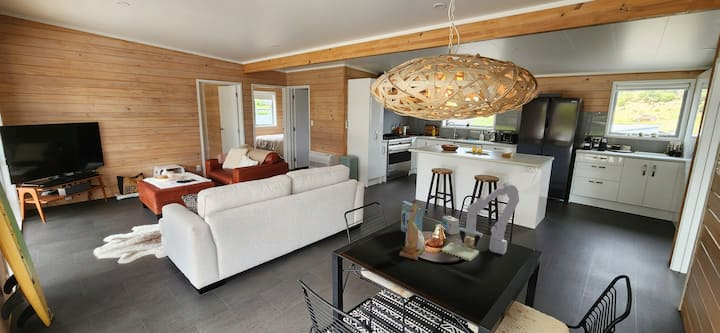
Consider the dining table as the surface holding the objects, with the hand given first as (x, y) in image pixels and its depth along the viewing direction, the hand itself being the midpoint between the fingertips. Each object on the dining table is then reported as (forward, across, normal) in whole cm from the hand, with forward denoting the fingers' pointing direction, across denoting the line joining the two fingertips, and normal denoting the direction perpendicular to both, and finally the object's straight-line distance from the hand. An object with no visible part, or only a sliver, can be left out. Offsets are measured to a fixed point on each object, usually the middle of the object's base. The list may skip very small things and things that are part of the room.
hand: (469, 244), depth 189 cm
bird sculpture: (+1, +20, +36) cm, 42 cm away
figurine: (+2, +22, +30) cm, 37 cm away
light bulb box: (+2, +20, -15) cm, 25 cm away
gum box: (+2, +36, +12) cm, 38 cm away
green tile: (+2, +1, +12) cm, 12 cm away
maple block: (+2, 0, 0) cm, 2 cm away
